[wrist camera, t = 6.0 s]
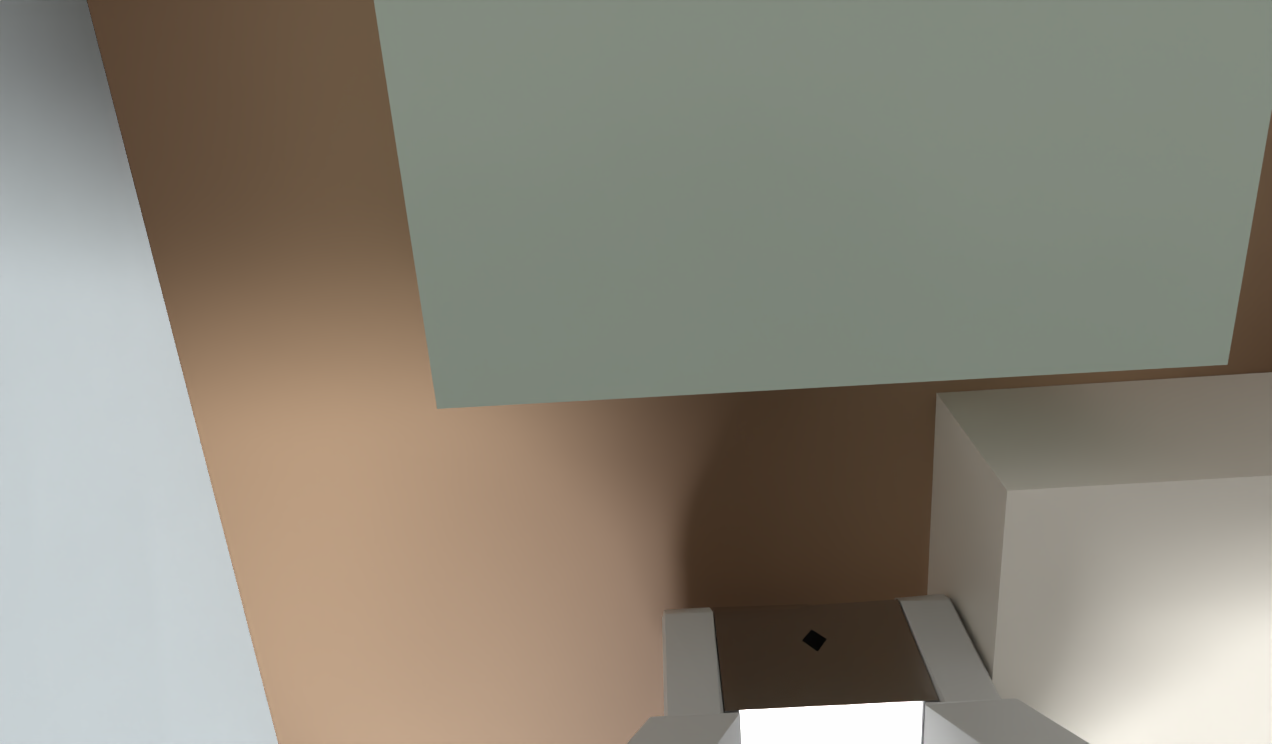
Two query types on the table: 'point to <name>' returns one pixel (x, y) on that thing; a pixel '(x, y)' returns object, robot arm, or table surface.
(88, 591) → the table surface
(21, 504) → the table surface
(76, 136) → the table surface
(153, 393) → the table surface
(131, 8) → the board
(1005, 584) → the tile cream
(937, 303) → the tile sage
